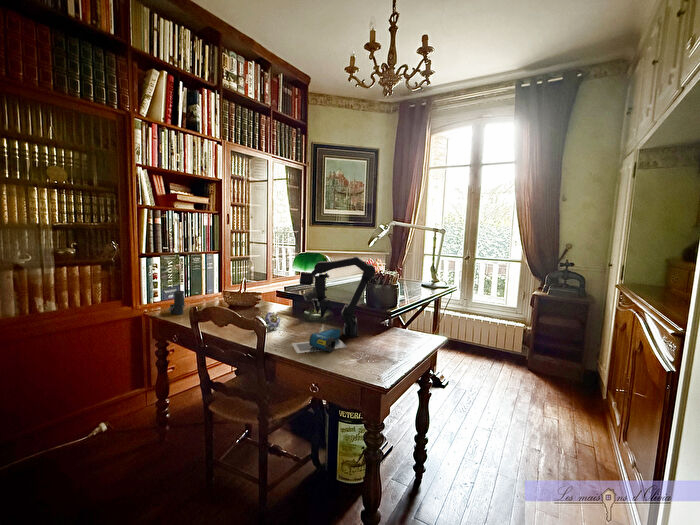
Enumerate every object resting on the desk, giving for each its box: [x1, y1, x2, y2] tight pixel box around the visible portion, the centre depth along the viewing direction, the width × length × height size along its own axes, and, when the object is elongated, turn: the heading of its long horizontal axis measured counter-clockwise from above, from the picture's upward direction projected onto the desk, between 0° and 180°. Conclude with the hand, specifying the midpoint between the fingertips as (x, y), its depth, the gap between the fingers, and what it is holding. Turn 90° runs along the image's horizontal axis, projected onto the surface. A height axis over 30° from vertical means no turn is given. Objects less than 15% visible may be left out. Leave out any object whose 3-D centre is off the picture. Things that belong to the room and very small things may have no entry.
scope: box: [167, 290, 186, 316], centre depth 192 cm, size 8×14×10 cm
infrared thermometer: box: [308, 328, 341, 353], centre depth 152 cm, size 6×13×20 cm
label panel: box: [291, 337, 348, 354], centre depth 150 cm, size 24×12×1 cm, turn 113°
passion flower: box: [260, 310, 282, 332], centre depth 172 cm, size 11×11×12 cm
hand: (319, 315), depth 166 cm, fingers open, 7 cm apart
